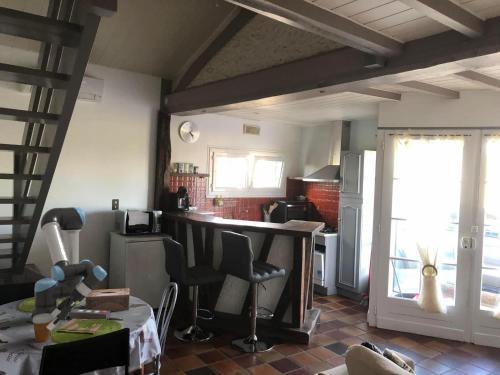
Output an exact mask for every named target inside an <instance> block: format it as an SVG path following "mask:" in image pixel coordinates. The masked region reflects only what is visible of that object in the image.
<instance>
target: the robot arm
mask: <svg viewBox="0 0 500 375" xmlns="http://www.w3.org/2000/svg"><path fill="white" fill-rule="evenodd" d="M85 225H86V215H85V213H84V210H83V209H82V208H80V207H75V206H72V207H71V206H70V207H54V208H50V209H48V210H47V211H46V212H45V213H44V214H43V215H42V217H41V220H40V229H41V232H42V233H44V237H45V240H46V243H47V246H48V250H49V254H50V257H51V261H52V265H53V266H52V267H51V268H50V277H45V278H41V279H40V280H37V281H36V282H35V284H34V290H33V291H34V302H33V303H34V305H33V306H34V308H33V310H32V312H31V316H30V322H31V323H32V324H33V321H32V319H33V317H34V316H36V315H39V314H45V313H47V314H52V317H53V319H52V322H51V323H50V324H49V325H48V326H47V327H46V328H48V329H49V330H50V332H51V331H52V330H53V329H54V328H55V327H56V326H57V325H58V324H59V323H60V322H61V321H64V319H65V318H66V316H68V315H69V314H70V312H71V311H72V310H73V308H74V307H75V306H76V305H77V304H76V302H79V303H81V302H82V301H84V299H86V296H87V295H88V294H89V293H91V291H92V290H95V289H96V287H97V286H98V285H99V284H100V283H101V282H102V281H103V280H104V279H105V278H106V277H107V275H108V273H107V271H106V270H105V269H104V268H102V266H100V265H98V264H97V265H95V264H94V263H93V262H92V261H91V260H89V259H83V260H81V261H80V262H79V260H80V258H79V254H80V253H79V252H80V249H79V248H80V247H79V244H80V243H79V242H80V232H81V231H82V230H83V229H82V227H84V226H85ZM60 231H61V232H62V235H63V236H62V235H61V232H60ZM58 300H63V301H62V302H60V303H59V304H58Z"/></svg>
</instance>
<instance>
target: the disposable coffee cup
mask: <svg viewBox="0 0 500 375" xmlns="http://www.w3.org/2000/svg"><path fill="white" fill-rule="evenodd" d="M52 319H53V317H52V314H47V313H45V314H39V315H36V316H34V317H33V319H32V321H33V323H32V324H33V331H34V339H35V342H38V343H42V342H43V343H44V342H47V341H48V340H50V337H51V336H50V335H51V331H50V330H49V329H48V328H46V327H47V326H48V325H49V324H50V323H51V322H52Z"/></svg>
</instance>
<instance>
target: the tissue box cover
mask: <svg viewBox="0 0 500 375" xmlns="http://www.w3.org/2000/svg"><path fill="white" fill-rule="evenodd" d="M84 302H85V304H84V307H85V308H84V309H86V310H105V311H111V312H117V311H129V310H130V288H129V287H128V288H114V289H113V288H112V289H109V288H108V289H93V290H92V291H91V293H89V294H88V295H87V296H86V295H85V300H84Z"/></svg>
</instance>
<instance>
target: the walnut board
mask: <svg viewBox="0 0 500 375" xmlns="http://www.w3.org/2000/svg"><path fill="white" fill-rule="evenodd" d="M81 320H89V319H70V320H69V321H68V322H66V323H65V324H63V325H61V326H60V327H58V329H57V331H58V330H69V331H92V332H94V331H96V330H97V329H98V328H99V327H100V326H101V325H102V323H101V324H97V325H96V324H94V325H92V327H91V328H88V327H87V328H86V329H85V328H82V327H81V326H78V324H77V322H78V321H81Z"/></svg>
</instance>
